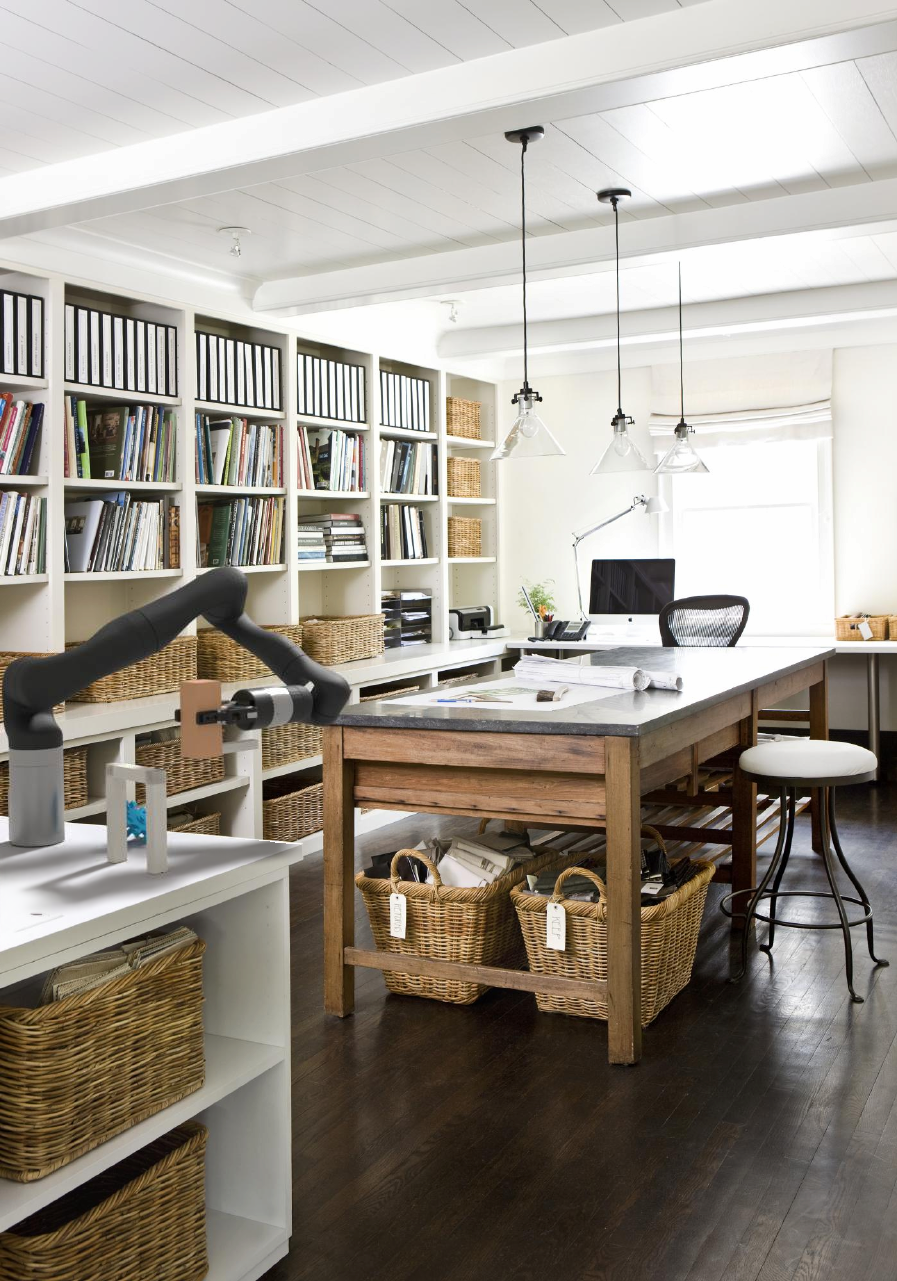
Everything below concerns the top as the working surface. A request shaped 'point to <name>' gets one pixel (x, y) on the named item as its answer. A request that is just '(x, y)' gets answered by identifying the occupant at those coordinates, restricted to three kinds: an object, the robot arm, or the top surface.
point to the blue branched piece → (136, 820)
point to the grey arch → (154, 813)
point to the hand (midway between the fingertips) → (186, 717)
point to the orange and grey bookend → (206, 737)
